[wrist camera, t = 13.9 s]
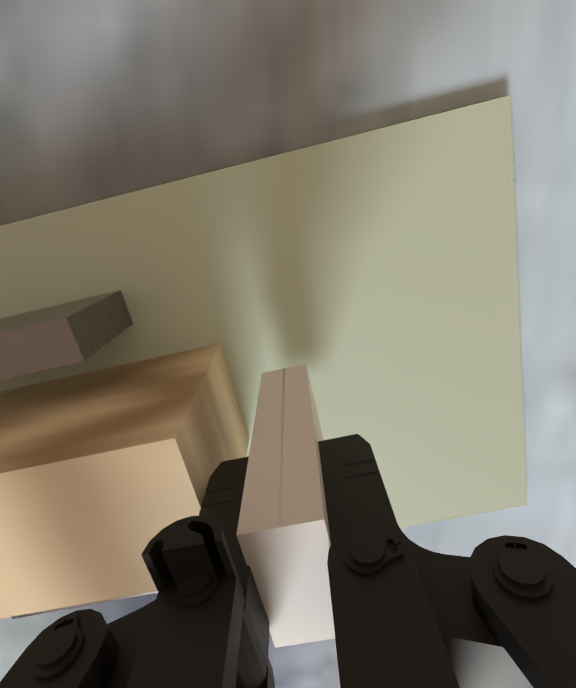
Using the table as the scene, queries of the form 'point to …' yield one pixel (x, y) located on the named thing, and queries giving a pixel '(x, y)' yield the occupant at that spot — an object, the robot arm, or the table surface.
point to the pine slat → (106, 473)
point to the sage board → (326, 293)
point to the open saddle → (61, 344)
